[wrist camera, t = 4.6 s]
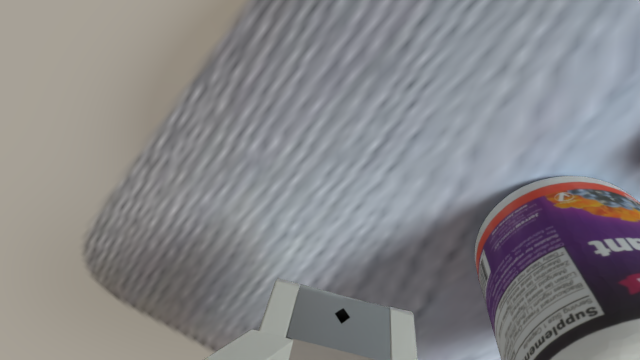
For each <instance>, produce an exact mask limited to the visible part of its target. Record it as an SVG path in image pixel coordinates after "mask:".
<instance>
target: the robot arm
mask: <svg viewBox="0 0 640 360" xmlns="http://www.w3.org/2000/svg"><path fill="white" fill-rule="evenodd" d="M299 286H300V288H299ZM204 360H417V348H416V336H415V325H414V315H413V313H412V312H411V311H407V310H403V309H398V308H394V307H387V306H382V305H378V304H374V303H370V302H366V301H362V300H358V299H354V298H350V297H346V296H342V295H339V294H335V293H331V292H328V291H324V290H320V289H317V288H313V287H309V286H306V285H302V284H300V285H299V284H297V283H294V282H290V281H286V280H282V279H279V278H278V279H277V280H276V282H275V284H274V287H273V290H272V293H271V296H270V299H269V301H268V304H267V307H266V310H265V313H264V316H263V319H262V322H261V325H260V328H259V331H257V330H252V329H251V330H250V331H248V332H247V333H245V334H243V335H242V336H240V337H239V338H237V339H235V340H234V341H232V342H231V343H229V344H228V345H226V346H224V347H223V348H221V349H220V350H218V351H217V352H215V353H213V354H212V355H210V356H209V357H207V358H206V359H204Z"/></svg>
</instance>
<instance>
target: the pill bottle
mask: <svg viewBox="0 0 640 360" xmlns="http://www.w3.org/2000/svg"><path fill="white" fill-rule="evenodd" d="M475 264H476V269H477V273H478V278H479V282H480V285H481V288H482V292H483V296H484V299H485V303H486V307H487V310H488V314H489V317H490V321H491V324H492V328H493V331H494V335H495V338H496V342H497V346H498V349H499V353H500V356H501V360H640V203H639V202H638V201H637V200H636V199H634V198H633V197H632V196H631V195H630V194H628V193H627V192H625V191H624V190H622V189H620V188H619V187H617V186H615V185H613V184H610V183H608V182H605V181H602V180H598V179H594V178H589V177H581V176H560V177H552V178H547V179H543V180H539V181H536V182H533V183H531V184H528V185H525V186H523V187H521V188H519V189H518V190H516V191H514V192H513V193H511V194H510V195H508V196H507V197H506V198H504V199H503V200H502V201H501V202H500V203H498V204H497V205H496V206H495V207H494V208H493V210H492V211H491V212H490V213H489V215H488V216H487V217H486V219H485V220H484V222H483V224H482V226H481V228H480V230H479V233H478V236H477V240H476V245H475Z"/></svg>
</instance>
